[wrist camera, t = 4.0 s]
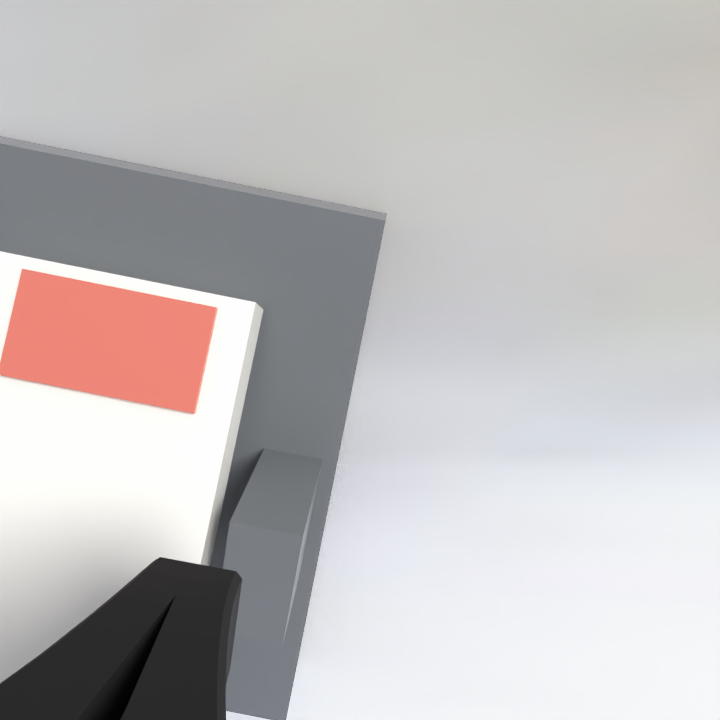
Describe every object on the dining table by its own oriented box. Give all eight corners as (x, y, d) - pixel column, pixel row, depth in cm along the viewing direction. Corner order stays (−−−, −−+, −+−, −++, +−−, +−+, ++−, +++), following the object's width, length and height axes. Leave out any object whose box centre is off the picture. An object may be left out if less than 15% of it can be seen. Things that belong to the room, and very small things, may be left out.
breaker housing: (295, 671, 21) (261, 839, 16) (-12, 610, 21) (-148, 759, 16) (386, 213, 16) (381, 237, 11) (-19, 132, 16) (-223, 117, 11)
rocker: (158, 809, 14) (138, 853, 13) (-94, 760, 14) (-141, 799, 13) (263, 309, 15) (254, 301, 13) (23, 261, 15) (-10, 248, 13)
